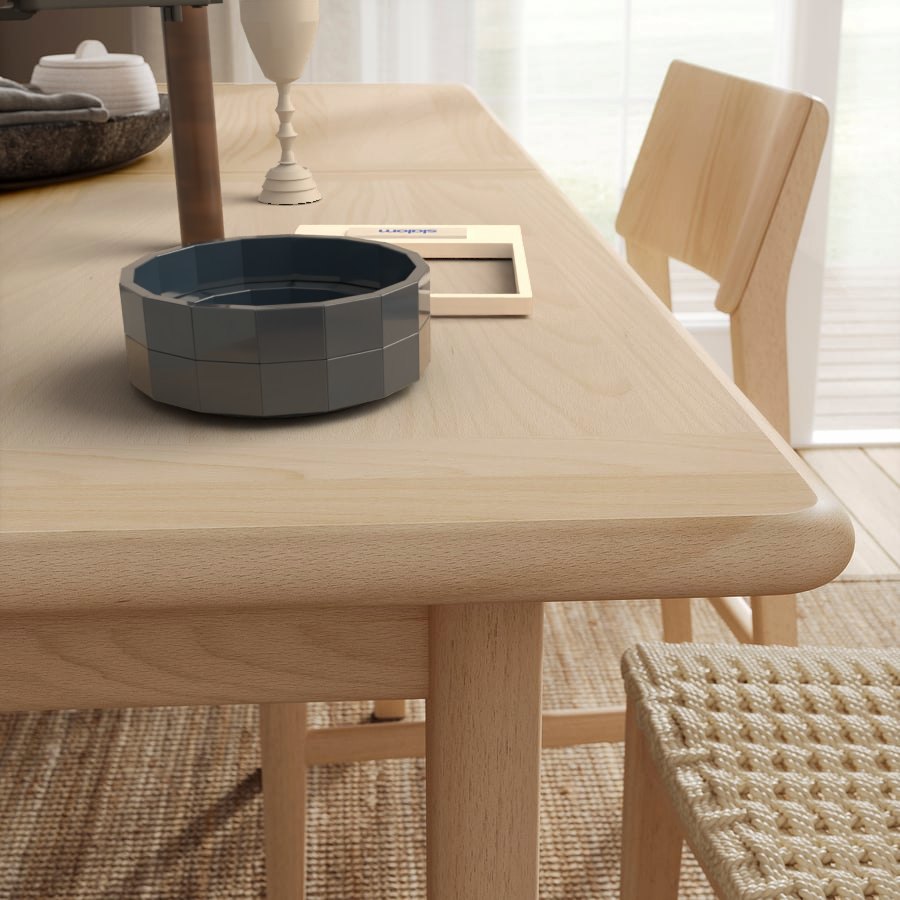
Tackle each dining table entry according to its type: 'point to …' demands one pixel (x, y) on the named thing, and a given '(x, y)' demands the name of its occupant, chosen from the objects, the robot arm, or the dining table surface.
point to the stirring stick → (193, 125)
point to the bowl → (276, 324)
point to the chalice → (283, 83)
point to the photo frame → (453, 245)
